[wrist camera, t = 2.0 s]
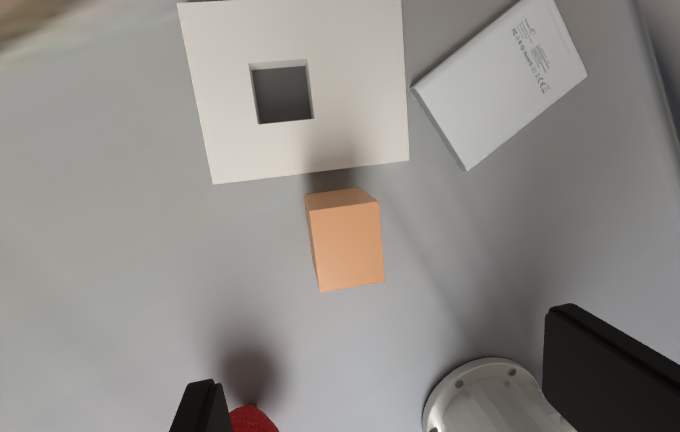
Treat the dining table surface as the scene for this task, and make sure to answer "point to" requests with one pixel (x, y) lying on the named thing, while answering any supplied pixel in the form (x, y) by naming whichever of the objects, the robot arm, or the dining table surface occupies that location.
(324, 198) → the plug
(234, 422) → the strawberry
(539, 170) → the dining table surface
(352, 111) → the socket
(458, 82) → the external hard drive
